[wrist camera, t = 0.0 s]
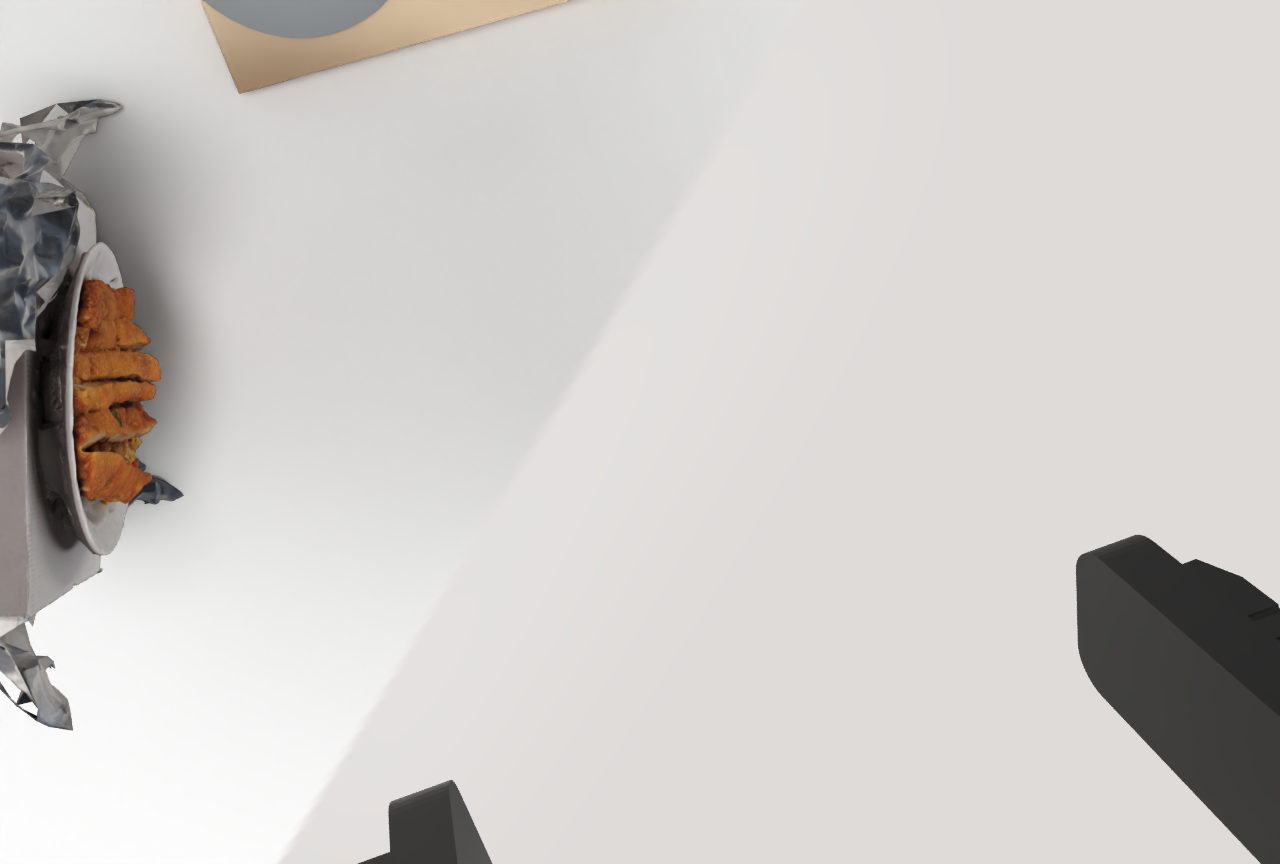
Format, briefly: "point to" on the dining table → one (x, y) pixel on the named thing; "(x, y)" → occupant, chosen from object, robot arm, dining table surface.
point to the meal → (61, 392)
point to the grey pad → (297, 15)
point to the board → (352, 37)
